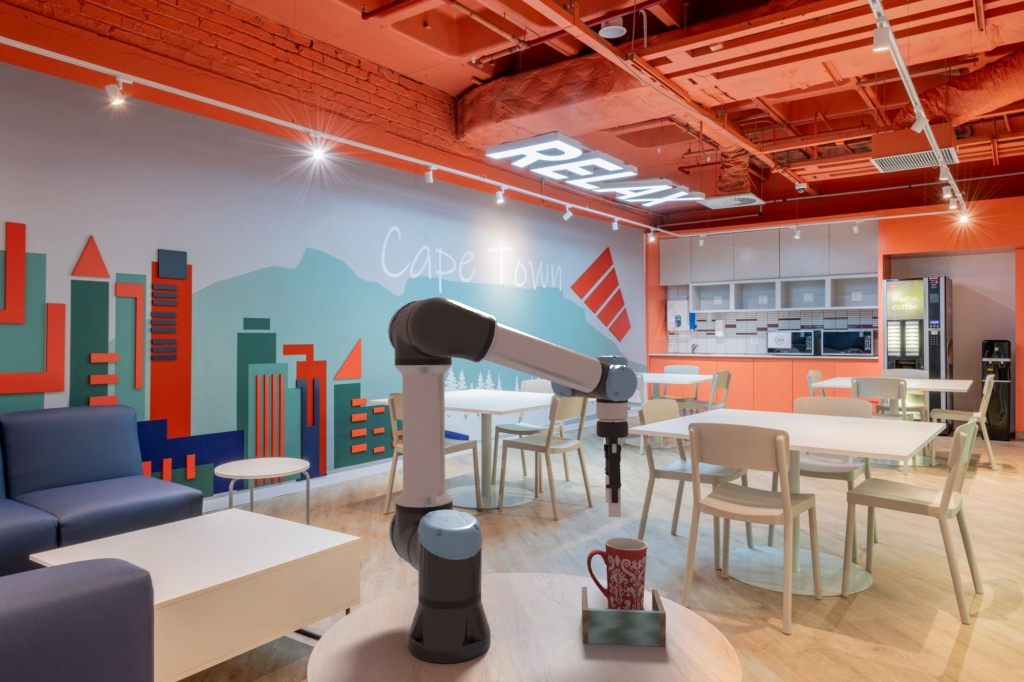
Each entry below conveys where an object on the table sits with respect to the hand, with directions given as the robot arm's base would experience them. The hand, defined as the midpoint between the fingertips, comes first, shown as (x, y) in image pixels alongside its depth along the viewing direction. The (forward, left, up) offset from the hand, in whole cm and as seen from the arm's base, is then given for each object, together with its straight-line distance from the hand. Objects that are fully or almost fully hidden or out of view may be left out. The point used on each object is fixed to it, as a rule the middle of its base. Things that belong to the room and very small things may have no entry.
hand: (612, 509), depth 153 cm
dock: (0, -28, -16) cm, 32 cm away
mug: (0, -18, -16) cm, 24 cm away
